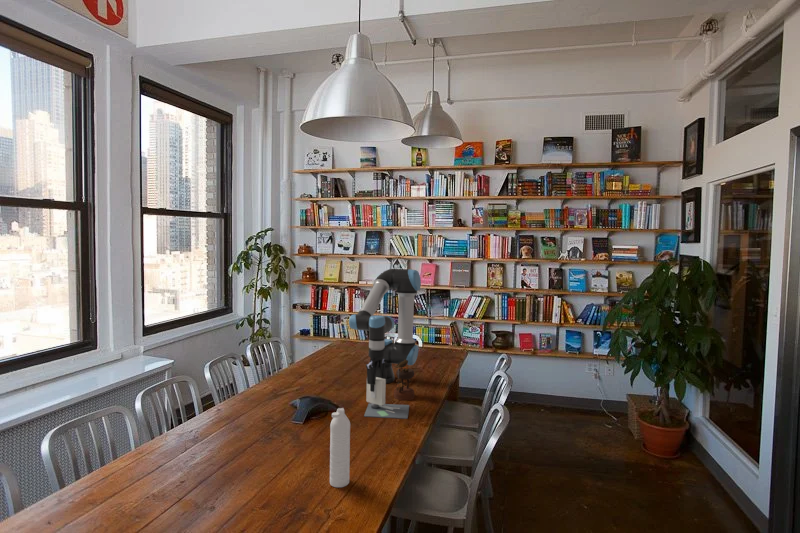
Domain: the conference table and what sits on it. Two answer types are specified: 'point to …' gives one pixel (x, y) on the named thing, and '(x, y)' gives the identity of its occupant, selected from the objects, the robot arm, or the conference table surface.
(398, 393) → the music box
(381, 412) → the dial board
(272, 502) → the conference table surface
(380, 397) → the white flat block
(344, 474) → the water bottle
